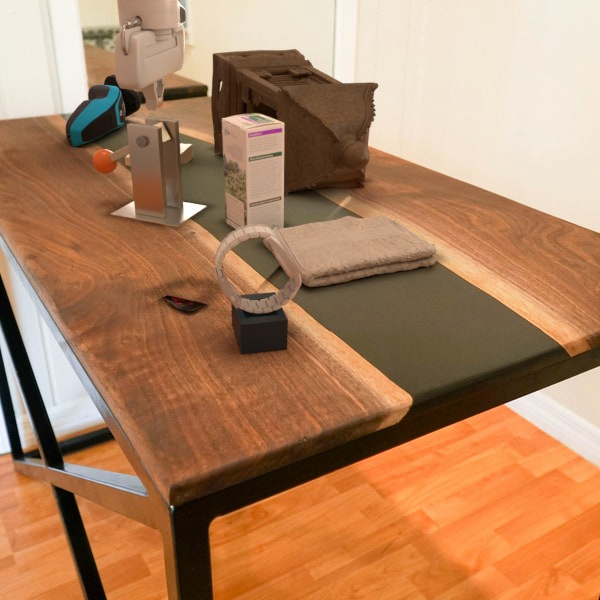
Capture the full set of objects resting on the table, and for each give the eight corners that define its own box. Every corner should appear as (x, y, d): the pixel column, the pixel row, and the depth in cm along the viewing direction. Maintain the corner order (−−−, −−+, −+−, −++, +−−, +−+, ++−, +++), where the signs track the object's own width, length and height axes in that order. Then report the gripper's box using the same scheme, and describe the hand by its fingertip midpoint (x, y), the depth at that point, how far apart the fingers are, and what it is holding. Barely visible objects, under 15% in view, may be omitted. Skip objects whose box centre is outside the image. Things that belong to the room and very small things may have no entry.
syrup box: (285, 234, 84) (287, 120, 77) (245, 244, 81) (244, 126, 74) (261, 220, 88) (261, 111, 81) (223, 229, 85) (220, 116, 78)
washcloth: (441, 266, 77) (445, 242, 76) (305, 294, 70) (306, 268, 69) (386, 230, 87) (389, 208, 85) (261, 251, 79) (261, 228, 78)
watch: (307, 346, 61) (312, 237, 56) (221, 356, 59) (217, 244, 54) (293, 317, 66) (296, 214, 61) (213, 325, 64) (209, 219, 59)
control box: (148, 154, 114) (146, 131, 112) (193, 157, 113) (191, 134, 111) (125, 171, 105) (123, 146, 103) (173, 175, 104) (172, 150, 102)
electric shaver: (103, 114, 137) (149, 118, 136) (43, 159, 116) (96, 165, 115) (97, 71, 132) (145, 75, 131) (33, 111, 112) (88, 116, 110)
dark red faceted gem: (192, 315, 65) (192, 311, 65) (153, 302, 67) (152, 298, 67) (220, 297, 69) (220, 293, 69) (182, 284, 71) (182, 281, 71)
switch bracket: (111, 222, 86) (99, 124, 80) (144, 203, 93) (136, 111, 87) (177, 234, 83) (171, 134, 77) (207, 214, 90) (203, 119, 84)
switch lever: (95, 179, 87) (83, 157, 86) (109, 173, 90) (98, 151, 89) (161, 147, 81) (148, 123, 80) (174, 141, 84) (162, 117, 83)
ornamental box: (400, 224, 96) (431, 94, 88) (293, 227, 87) (317, 84, 79) (292, 154, 122) (308, 50, 114) (202, 151, 114) (213, 39, 106)
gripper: (143, 22, 88) (150, 125, 95) (190, 9, 106) (193, 97, 113) (98, 19, 89) (109, 122, 96) (152, 7, 107) (158, 94, 114)
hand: (155, 108), depth 104 cm, fingers closed
